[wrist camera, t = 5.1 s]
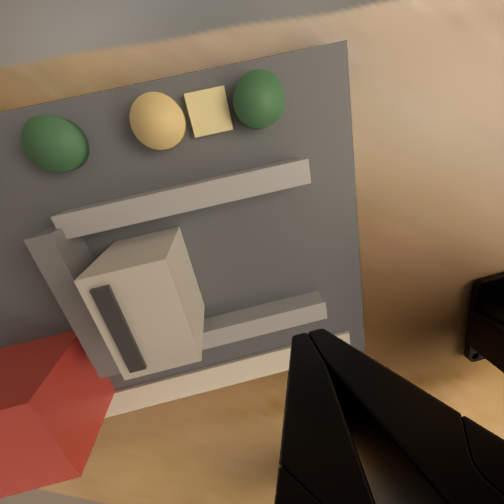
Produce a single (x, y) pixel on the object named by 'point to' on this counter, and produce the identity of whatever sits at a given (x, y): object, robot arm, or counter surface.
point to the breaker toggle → (146, 303)
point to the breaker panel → (191, 211)
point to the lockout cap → (48, 412)
